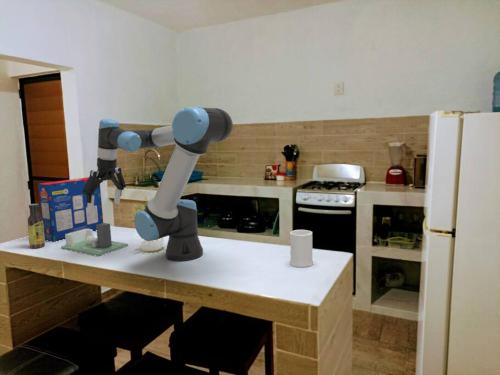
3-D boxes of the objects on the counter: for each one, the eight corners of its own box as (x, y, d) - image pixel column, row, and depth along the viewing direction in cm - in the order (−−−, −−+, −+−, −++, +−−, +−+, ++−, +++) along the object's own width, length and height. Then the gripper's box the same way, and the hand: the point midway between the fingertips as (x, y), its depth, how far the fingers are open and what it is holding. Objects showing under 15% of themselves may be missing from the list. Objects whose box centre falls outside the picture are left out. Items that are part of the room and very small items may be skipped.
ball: (97, 243, 170) (96, 235, 170) (90, 246, 167) (89, 237, 166) (92, 242, 172) (91, 234, 172) (84, 245, 169) (83, 236, 168)
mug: (300, 256, 149) (299, 226, 147) (320, 259, 144) (320, 229, 142) (286, 265, 139) (285, 233, 137) (307, 269, 134) (306, 236, 132)
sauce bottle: (39, 249, 168) (34, 205, 165) (26, 248, 169) (21, 205, 166) (48, 244, 175) (44, 203, 172) (36, 244, 176) (32, 203, 173)
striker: (113, 245, 166) (111, 223, 165) (102, 248, 161) (100, 226, 160) (102, 243, 170) (100, 221, 168) (91, 246, 165) (89, 224, 164)
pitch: (128, 245, 169) (127, 233, 168) (98, 256, 155) (96, 242, 154) (92, 239, 182) (91, 227, 181) (61, 248, 168) (59, 235, 167)
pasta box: (94, 227, 206) (90, 177, 202) (103, 228, 202) (99, 177, 198) (44, 240, 183) (38, 183, 179) (53, 242, 179) (47, 184, 175)
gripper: (124, 153, 165) (121, 198, 170) (73, 158, 143) (71, 210, 149) (136, 157, 161) (132, 203, 167) (86, 163, 140) (84, 215, 146)
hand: (104, 206), depth 158 cm, fingers open, 13 cm apart
